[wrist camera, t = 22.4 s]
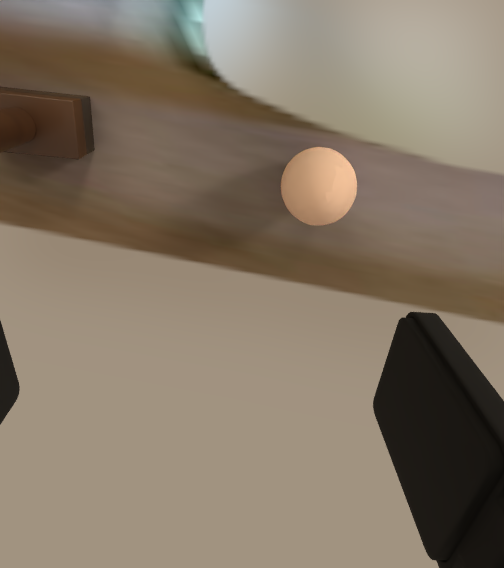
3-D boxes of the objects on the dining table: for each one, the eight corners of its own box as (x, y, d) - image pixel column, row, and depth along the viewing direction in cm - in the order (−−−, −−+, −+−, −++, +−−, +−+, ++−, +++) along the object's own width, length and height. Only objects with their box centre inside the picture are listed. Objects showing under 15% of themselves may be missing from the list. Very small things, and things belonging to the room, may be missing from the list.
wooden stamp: (-19, 84, 30) (-105, 92, 22) (89, 96, 30) (40, 108, 23) (-7, 140, 32) (-83, 164, 24) (94, 150, 32) (50, 176, 25)
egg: (264, 183, 34) (269, 214, 27) (305, 125, 32) (322, 142, 25) (316, 219, 36) (332, 255, 29) (358, 165, 33) (387, 192, 27)
